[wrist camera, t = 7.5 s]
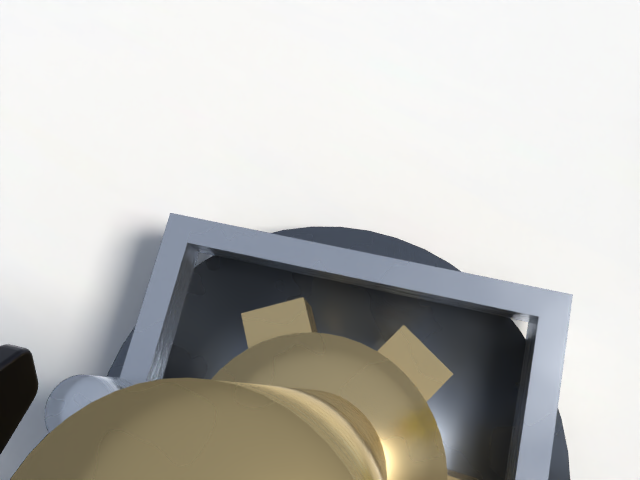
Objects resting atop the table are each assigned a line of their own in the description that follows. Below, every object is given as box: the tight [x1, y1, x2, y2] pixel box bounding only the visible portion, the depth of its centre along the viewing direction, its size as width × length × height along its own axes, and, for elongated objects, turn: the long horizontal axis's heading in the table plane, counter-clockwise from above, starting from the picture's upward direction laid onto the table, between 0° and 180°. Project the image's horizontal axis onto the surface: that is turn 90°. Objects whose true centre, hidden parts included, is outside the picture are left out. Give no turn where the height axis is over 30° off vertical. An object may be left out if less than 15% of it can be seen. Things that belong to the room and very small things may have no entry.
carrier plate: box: [45, 213, 573, 480], centre depth 16 cm, size 14×14×4 cm
